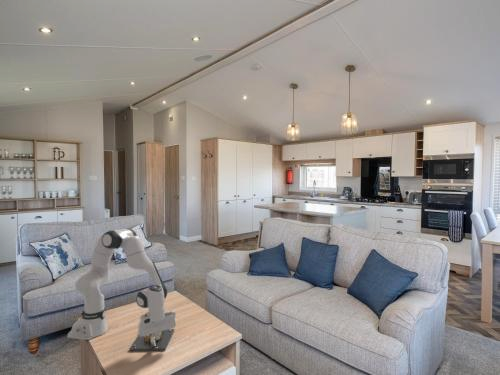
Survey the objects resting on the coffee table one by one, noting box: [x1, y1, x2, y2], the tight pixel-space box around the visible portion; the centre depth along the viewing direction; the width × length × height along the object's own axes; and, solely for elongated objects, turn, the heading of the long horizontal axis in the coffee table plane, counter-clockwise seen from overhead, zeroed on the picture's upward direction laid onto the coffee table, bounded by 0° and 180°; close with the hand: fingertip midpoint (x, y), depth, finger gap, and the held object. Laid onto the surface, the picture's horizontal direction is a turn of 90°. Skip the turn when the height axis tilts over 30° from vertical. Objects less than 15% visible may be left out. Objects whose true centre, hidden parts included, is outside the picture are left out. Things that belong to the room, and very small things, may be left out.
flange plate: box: [129, 328, 175, 352], centre depth 173 cm, size 20×20×8 cm
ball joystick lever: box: [144, 332, 162, 347], centre depth 170 cm, size 16×10×6 cm, turn 18°
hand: (157, 339), depth 165 cm, fingers closed
